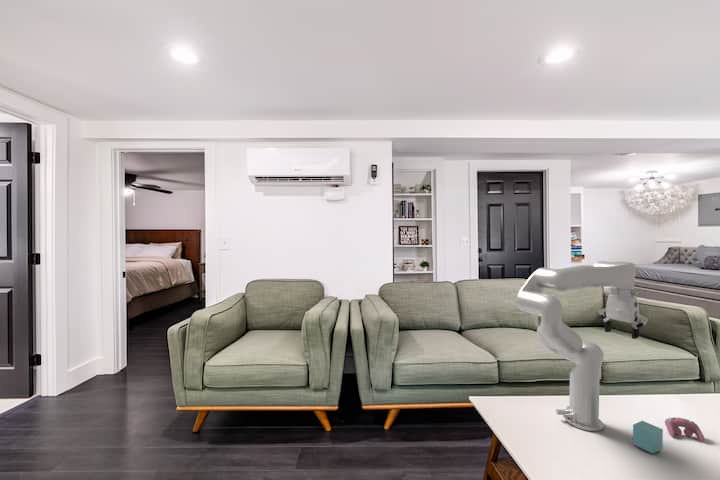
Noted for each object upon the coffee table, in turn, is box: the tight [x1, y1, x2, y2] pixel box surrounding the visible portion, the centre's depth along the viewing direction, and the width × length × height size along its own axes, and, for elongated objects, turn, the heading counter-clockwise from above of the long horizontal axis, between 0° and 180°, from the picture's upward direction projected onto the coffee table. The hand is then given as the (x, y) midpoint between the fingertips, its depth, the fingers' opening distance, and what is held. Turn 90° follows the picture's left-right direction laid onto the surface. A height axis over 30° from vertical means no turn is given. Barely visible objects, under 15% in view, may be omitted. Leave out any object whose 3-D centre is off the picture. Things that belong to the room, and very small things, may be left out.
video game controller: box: [664, 417, 705, 443], centre depth 123 cm, size 10×5×7 cm, turn 72°
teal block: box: [632, 420, 664, 454], centre depth 115 cm, size 6×6×7 cm
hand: (621, 334), depth 136 cm, fingers open, 9 cm apart
